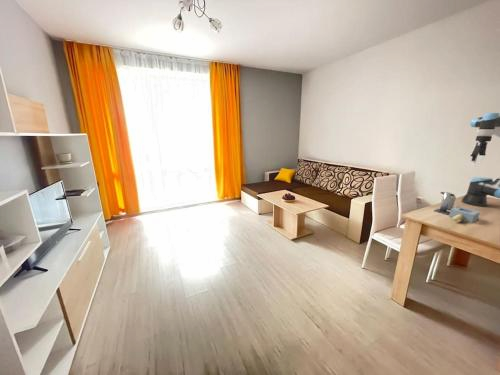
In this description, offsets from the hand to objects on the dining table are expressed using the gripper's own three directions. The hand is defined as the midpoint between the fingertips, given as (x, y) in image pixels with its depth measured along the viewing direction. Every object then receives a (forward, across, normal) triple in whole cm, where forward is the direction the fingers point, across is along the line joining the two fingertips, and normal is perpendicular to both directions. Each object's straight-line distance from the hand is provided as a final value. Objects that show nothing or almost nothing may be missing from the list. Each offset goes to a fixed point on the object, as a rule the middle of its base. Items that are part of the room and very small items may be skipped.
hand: (475, 164), depth 153 cm
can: (+37, +6, -7) cm, 38 cm away
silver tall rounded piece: (+36, +19, -5) cm, 41 cm away
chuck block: (+37, +25, +7) cm, 45 cm away
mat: (+37, +19, -5) cm, 42 cm away
